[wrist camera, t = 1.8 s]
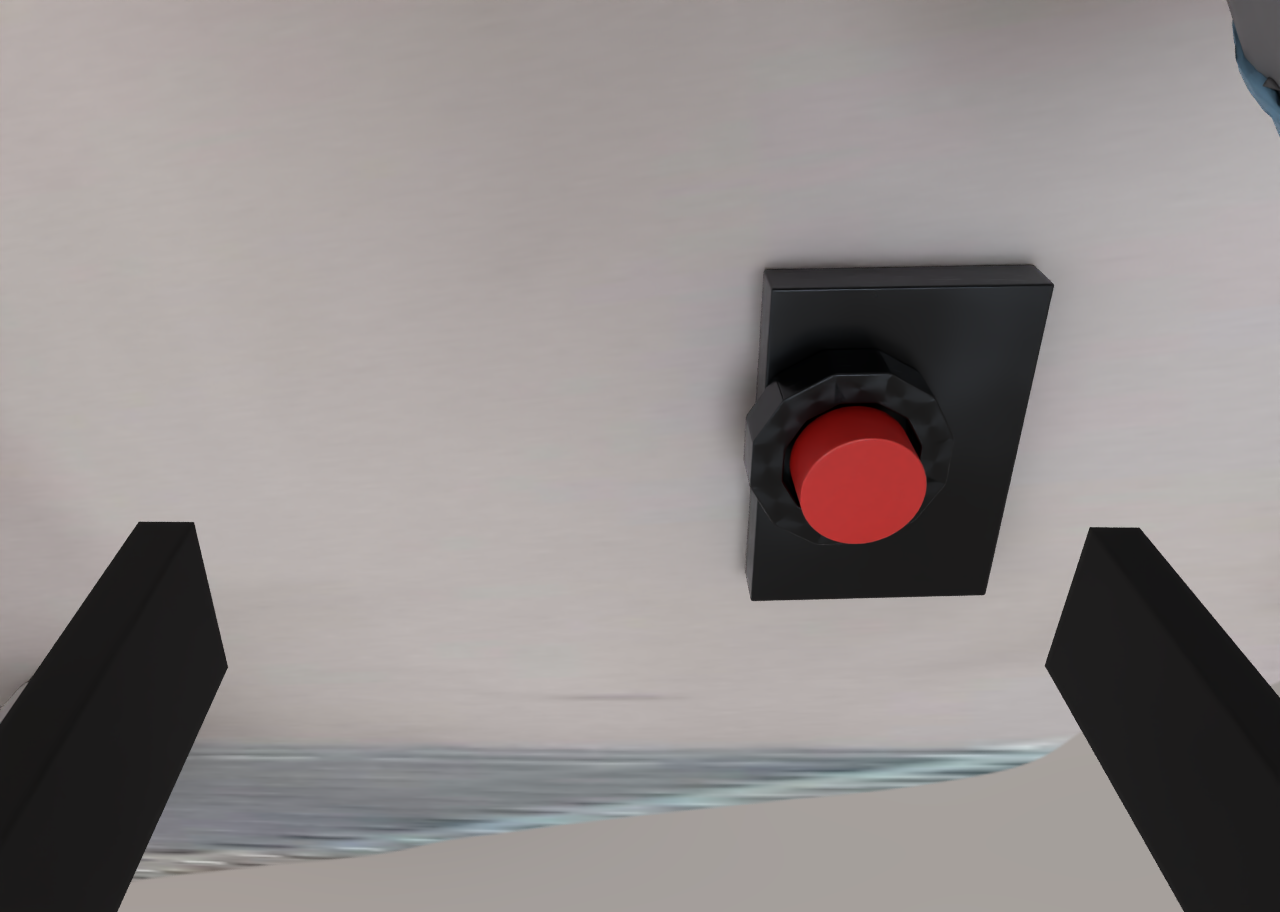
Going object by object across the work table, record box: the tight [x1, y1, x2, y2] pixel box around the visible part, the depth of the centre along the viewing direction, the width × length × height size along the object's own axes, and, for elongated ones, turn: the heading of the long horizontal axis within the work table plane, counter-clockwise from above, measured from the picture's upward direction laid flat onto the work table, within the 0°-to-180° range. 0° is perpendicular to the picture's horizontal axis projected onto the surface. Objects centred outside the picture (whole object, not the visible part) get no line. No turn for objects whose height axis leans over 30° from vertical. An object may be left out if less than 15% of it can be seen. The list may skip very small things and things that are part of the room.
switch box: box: [744, 265, 1054, 601], centre depth 38 cm, size 14×11×4 cm
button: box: [790, 406, 927, 544], centre depth 35 cm, size 4×4×2 cm
